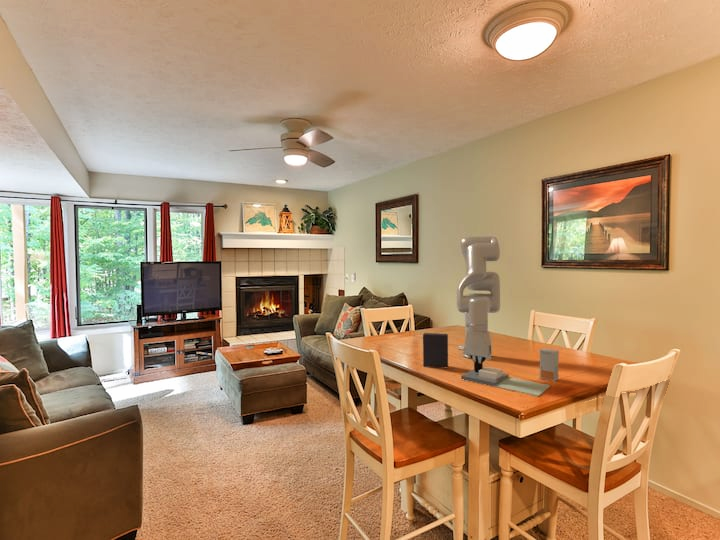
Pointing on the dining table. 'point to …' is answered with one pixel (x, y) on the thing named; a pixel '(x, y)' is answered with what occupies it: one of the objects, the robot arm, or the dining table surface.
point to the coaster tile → (490, 373)
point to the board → (475, 378)
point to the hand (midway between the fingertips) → (478, 371)
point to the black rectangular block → (435, 350)
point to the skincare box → (549, 364)
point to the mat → (523, 386)
